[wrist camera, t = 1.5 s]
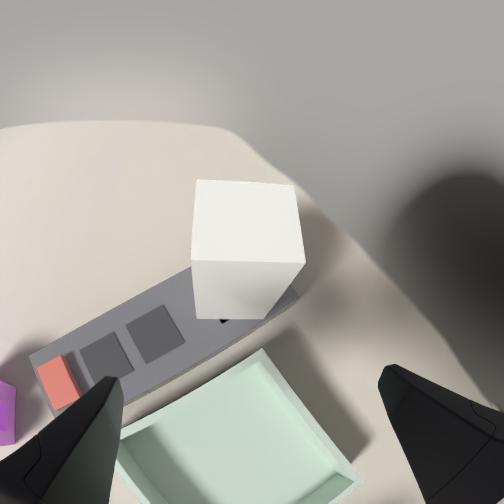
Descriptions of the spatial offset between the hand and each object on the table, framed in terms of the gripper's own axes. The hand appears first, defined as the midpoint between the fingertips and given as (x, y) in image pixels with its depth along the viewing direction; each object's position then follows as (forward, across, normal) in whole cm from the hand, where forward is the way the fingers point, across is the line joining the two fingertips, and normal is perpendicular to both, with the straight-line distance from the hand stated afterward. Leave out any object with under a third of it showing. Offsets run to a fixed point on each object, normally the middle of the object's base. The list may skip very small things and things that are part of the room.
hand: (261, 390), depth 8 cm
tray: (+4, 0, +13) cm, 14 cm away
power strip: (+12, +5, +6) cm, 14 cm away
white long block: (+13, 0, +4) cm, 13 cm away
